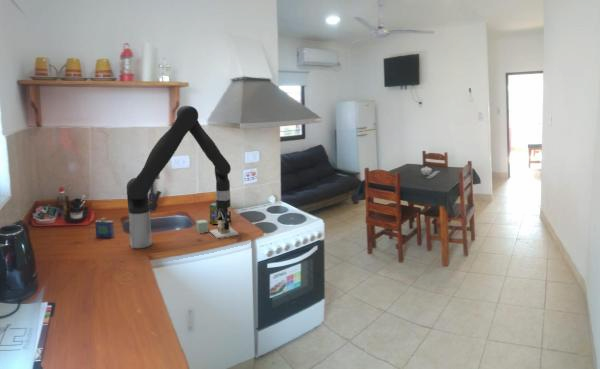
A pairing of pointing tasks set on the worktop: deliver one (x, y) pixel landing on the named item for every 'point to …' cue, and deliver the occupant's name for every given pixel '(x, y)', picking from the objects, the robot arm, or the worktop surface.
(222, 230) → the maple block
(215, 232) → the tile
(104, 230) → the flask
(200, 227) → the sage block
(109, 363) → the worktop surface
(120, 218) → the worktop surface
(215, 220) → the chalk box
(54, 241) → the worktop surface
